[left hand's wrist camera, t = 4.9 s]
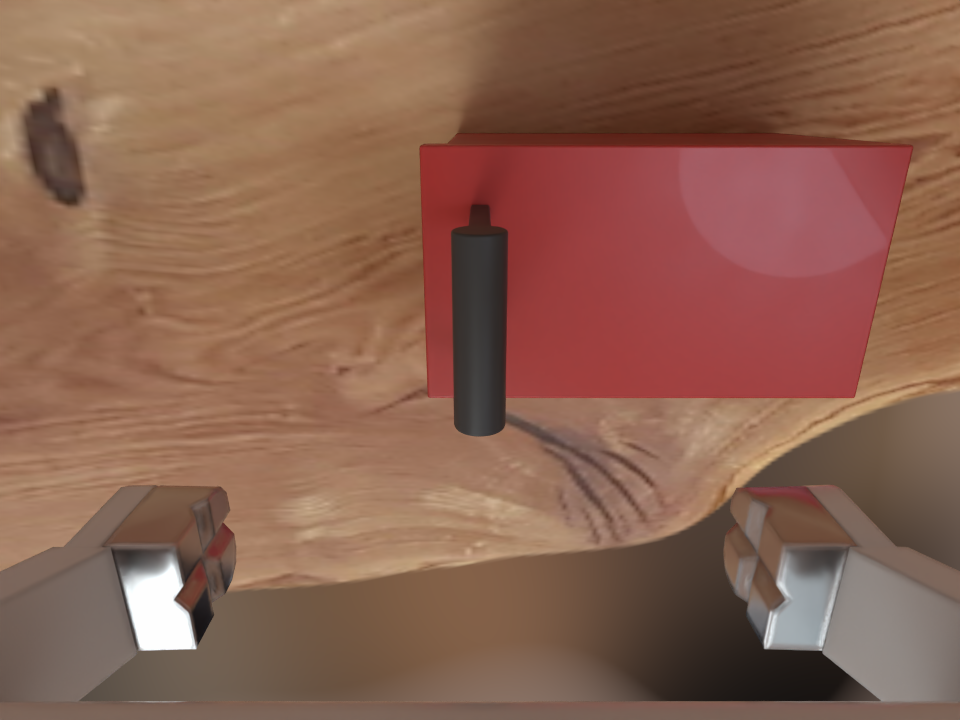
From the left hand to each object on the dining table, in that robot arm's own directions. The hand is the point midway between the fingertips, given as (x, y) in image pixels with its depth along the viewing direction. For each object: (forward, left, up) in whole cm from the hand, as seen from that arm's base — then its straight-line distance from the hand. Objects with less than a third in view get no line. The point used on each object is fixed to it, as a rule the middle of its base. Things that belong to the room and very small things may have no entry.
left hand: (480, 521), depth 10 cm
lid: (+5, +4, -17) cm, 18 cm away
